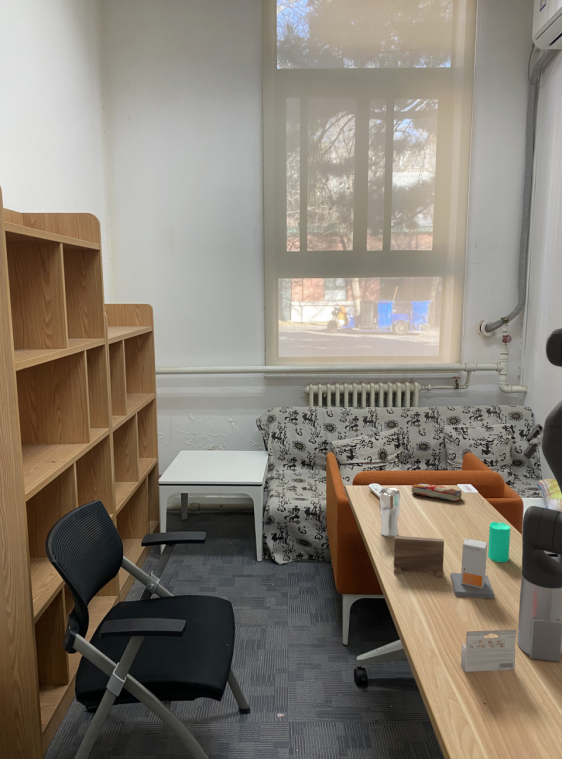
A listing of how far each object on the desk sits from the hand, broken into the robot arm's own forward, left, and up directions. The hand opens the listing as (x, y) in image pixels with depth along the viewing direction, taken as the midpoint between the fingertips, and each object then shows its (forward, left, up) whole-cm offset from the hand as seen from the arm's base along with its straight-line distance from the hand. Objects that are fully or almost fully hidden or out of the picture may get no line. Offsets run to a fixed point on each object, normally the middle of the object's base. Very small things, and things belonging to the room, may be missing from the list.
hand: (539, 461), depth 139 cm
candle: (+18, +5, -37) cm, 41 cm away
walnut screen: (+6, +30, -37) cm, 48 cm away
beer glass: (+30, +38, -37) cm, 61 cm away
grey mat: (-1, +16, -37) cm, 40 cm away
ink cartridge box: (-34, +18, -37) cm, 54 cm away
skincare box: (-1, +15, -36) cm, 39 cm away
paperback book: (+67, +19, -37) cm, 78 cm away
